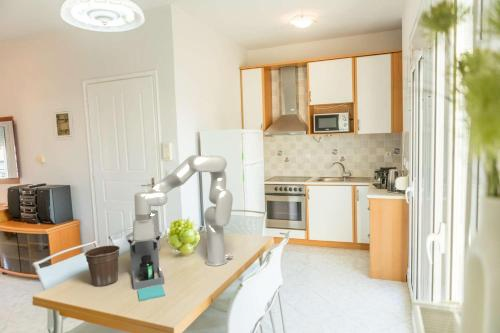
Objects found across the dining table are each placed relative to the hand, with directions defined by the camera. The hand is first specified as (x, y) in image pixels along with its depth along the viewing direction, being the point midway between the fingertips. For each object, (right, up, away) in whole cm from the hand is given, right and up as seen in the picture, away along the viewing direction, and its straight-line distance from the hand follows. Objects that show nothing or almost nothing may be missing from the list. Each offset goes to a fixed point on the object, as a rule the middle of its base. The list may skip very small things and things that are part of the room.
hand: (144, 251), depth 166 cm
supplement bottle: (+1, -15, +1) cm, 15 cm away
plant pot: (-20, -16, +1) cm, 26 cm away
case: (+1, -15, +1) cm, 15 cm away
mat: (+8, -16, -14) cm, 23 cm away
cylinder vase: (-12, -12, +48) cm, 51 cm away
